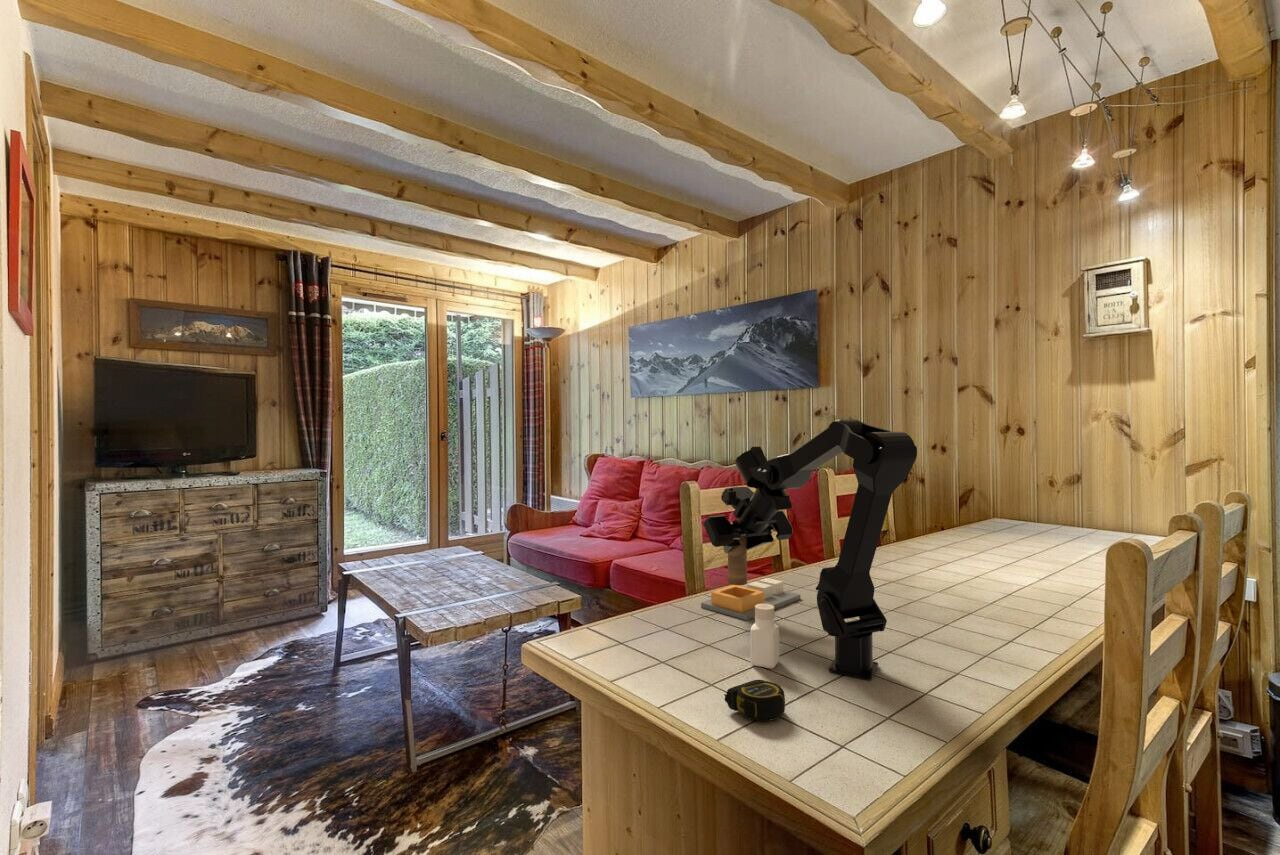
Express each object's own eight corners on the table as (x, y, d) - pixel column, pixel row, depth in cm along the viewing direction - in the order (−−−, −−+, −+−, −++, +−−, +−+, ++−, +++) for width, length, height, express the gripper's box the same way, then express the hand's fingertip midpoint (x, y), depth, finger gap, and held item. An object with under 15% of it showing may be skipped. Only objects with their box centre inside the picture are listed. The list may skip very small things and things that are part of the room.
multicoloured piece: (746, 620, 119) (746, 603, 119) (701, 607, 128) (700, 591, 128) (800, 598, 133) (800, 583, 133) (755, 588, 141) (755, 573, 141)
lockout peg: (739, 586, 124) (738, 526, 124) (724, 582, 127) (723, 524, 127) (750, 582, 126) (750, 524, 126) (736, 579, 129) (735, 522, 129)
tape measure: (761, 698, 86) (760, 673, 86) (796, 718, 80) (795, 691, 80) (724, 711, 83) (723, 684, 83) (758, 732, 77) (757, 704, 77)
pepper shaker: (756, 657, 101) (756, 601, 100) (780, 661, 99) (779, 604, 99) (749, 666, 97) (749, 608, 97) (774, 670, 95) (773, 611, 95)
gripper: (783, 472, 126) (754, 517, 137) (707, 477, 119) (682, 523, 129) (808, 514, 119) (775, 558, 129) (728, 522, 112) (700, 567, 122)
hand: (733, 550), depth 128 cm, fingers closed on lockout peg, 4 cm apart
